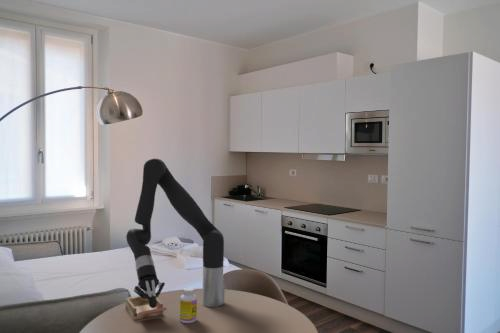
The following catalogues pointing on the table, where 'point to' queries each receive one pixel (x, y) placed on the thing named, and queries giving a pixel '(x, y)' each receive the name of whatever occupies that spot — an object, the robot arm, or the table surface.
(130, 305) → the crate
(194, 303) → the supplement bottle
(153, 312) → the panel
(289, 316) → the table surface
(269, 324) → the table surface
